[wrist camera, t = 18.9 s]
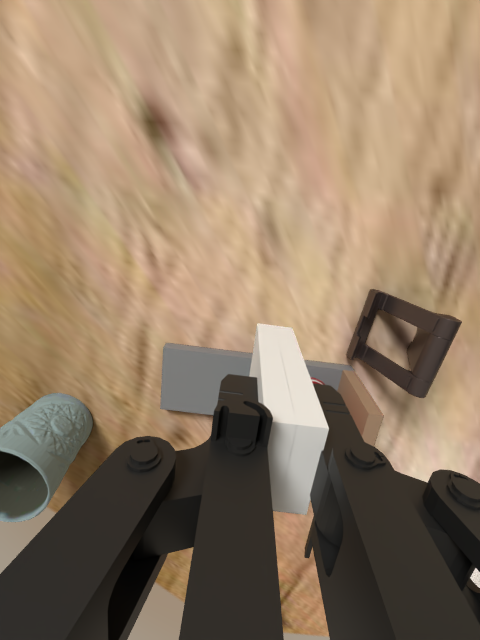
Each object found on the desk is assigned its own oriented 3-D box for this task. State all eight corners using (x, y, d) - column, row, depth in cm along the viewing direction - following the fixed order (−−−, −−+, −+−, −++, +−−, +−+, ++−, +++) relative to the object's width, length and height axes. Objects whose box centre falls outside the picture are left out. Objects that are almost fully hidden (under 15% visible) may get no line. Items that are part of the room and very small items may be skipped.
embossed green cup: (33, 443, 46) (-36, 519, 35) (21, 383, 43) (-60, 446, 32) (102, 448, 46) (55, 525, 35) (95, 388, 43) (41, 452, 32)
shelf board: (351, 365, 41) (383, 415, 31) (335, 423, 44) (360, 485, 34) (166, 342, 40) (139, 386, 31) (163, 402, 43) (138, 459, 34)
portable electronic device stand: (368, 286, 37) (400, 306, 30) (431, 300, 38) (479, 324, 30) (344, 352, 40) (367, 386, 32) (402, 364, 41) (439, 401, 33)
